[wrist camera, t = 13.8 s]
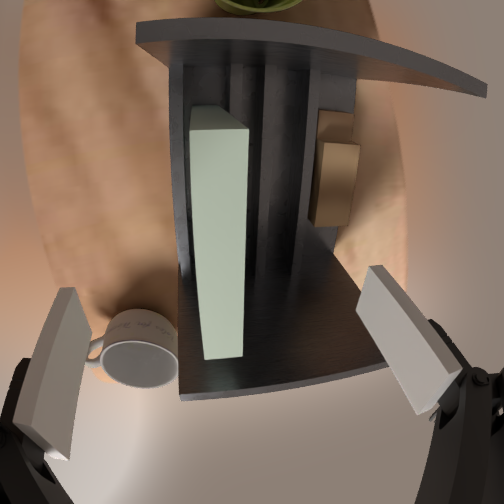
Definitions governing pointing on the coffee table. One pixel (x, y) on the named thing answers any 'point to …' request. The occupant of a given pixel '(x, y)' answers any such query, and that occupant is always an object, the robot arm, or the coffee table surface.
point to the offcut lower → (332, 129)
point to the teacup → (138, 350)
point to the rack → (275, 191)
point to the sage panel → (219, 226)
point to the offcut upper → (333, 182)
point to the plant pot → (255, 6)
